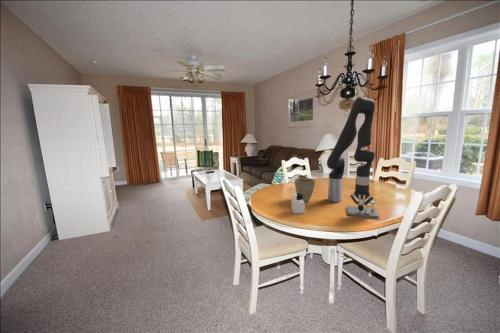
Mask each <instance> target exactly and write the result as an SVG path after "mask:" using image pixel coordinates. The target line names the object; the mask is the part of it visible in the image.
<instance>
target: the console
mask: <svg viewBox="0 0 500 333" xmlns="http://www.w3.org/2000/svg"><path fill="white" fill-rule="evenodd" d="M346 211H347V216H351V217H359V218H360V217H361V218H367V219H368V218H369V219H376V220H377V219H379V218H380V216H379V213H378V212H377V209H376V208H375V207H374V210H371V214H366V206H364V208H363V210H362V211H359V210H358V206H355V205H354V206H352V205H346Z"/></svg>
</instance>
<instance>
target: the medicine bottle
mask: <svg viewBox="0 0 500 333" xmlns="http://www.w3.org/2000/svg"><path fill="white" fill-rule="evenodd" d="M292 195H293V196H292V198H293V199H291V207H290V208H291V211H292V212H293V214H306V212H305V210H306V208H305V206H306V202H304V201H303V195H302V194H301V193H297V192H296V193H293V194H292Z"/></svg>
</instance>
